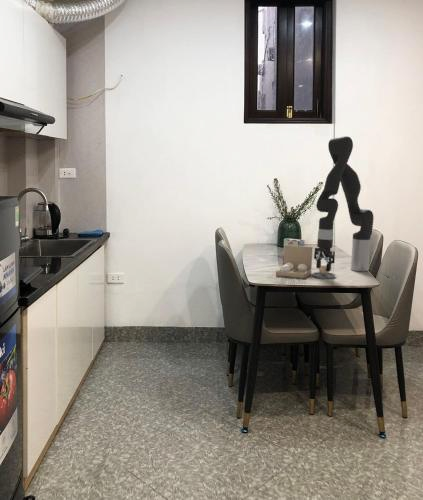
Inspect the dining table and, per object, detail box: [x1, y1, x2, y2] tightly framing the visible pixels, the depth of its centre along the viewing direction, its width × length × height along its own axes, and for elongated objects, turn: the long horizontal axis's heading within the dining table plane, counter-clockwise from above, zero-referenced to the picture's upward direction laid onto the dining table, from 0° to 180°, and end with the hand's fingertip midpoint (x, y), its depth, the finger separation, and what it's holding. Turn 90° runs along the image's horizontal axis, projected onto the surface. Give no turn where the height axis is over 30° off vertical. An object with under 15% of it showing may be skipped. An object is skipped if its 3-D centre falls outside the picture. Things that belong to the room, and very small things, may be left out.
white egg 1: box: [280, 264, 291, 272], centre depth 245 cm, size 5×5×5 cm
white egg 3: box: [297, 264, 307, 271], centre depth 249 cm, size 5×5×5 cm
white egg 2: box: [285, 262, 294, 270], centre depth 252 cm, size 5×5×5 cm
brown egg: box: [318, 265, 330, 275], centre depth 243 cm, size 5×5×5 cm
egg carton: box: [275, 244, 313, 280], centre depth 247 cm, size 15×15×14 cm
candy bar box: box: [282, 238, 305, 266], centre depth 263 cm, size 11×5×16 cm, turn 40°
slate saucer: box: [311, 271, 336, 280], centre depth 244 cm, size 11×11×1 cm
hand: (323, 269), depth 243 cm, fingers open, 8 cm apart
